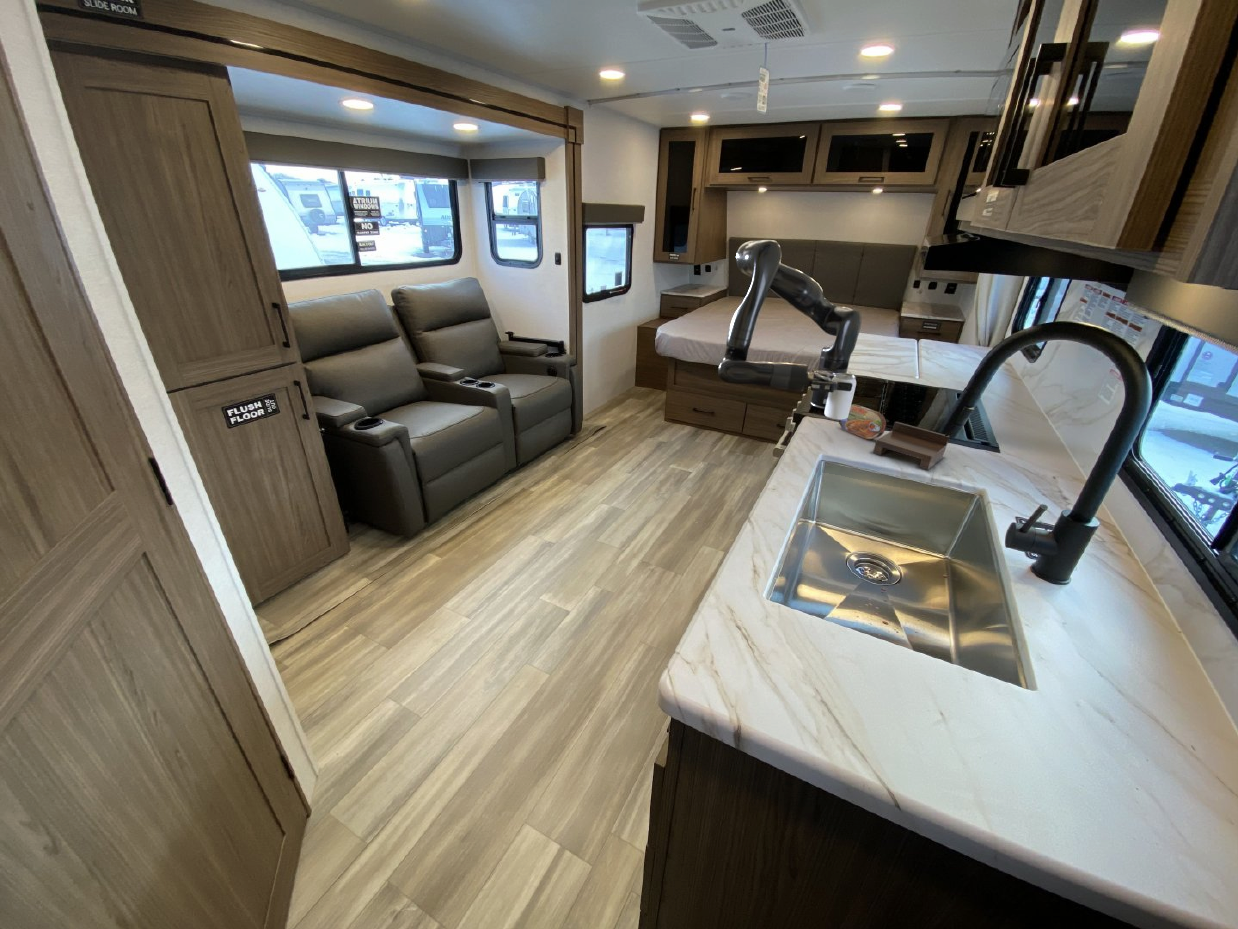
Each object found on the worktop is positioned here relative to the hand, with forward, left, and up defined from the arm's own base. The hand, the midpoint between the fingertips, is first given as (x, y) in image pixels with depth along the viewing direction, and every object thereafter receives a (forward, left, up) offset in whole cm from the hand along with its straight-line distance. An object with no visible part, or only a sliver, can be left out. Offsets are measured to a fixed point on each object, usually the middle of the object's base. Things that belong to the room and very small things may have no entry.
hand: (850, 383), depth 137 cm
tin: (-11, +2, -18) cm, 21 cm away
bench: (-6, +18, -17) cm, 25 cm away
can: (+1, -2, -10) cm, 10 cm away
